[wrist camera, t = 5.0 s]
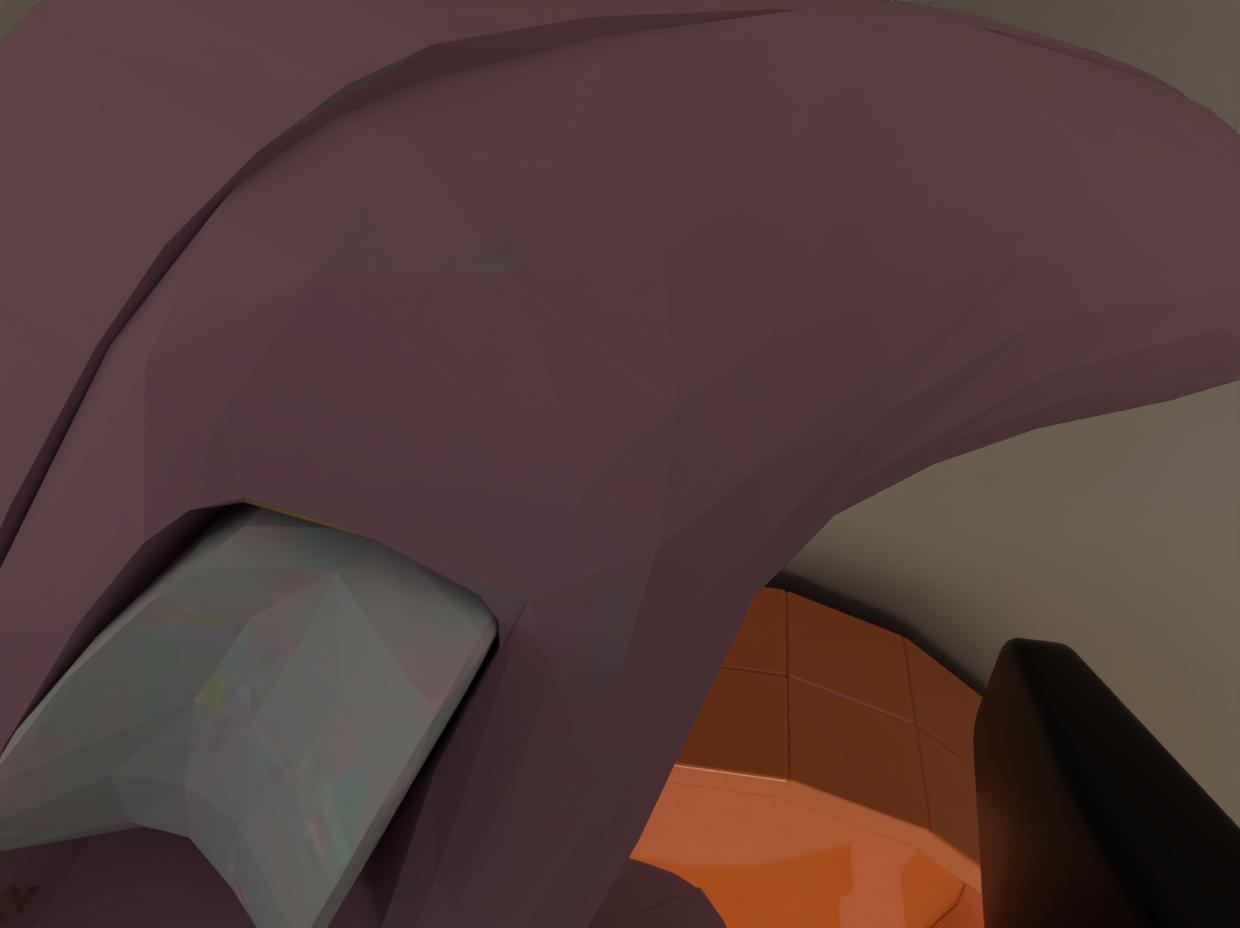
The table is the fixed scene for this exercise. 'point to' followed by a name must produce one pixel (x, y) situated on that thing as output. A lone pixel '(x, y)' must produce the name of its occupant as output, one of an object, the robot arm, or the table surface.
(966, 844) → the orange mixing bowl
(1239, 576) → the table surface
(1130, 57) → the table surface
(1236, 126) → the table surface
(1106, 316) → the video game controller
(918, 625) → the table surface
